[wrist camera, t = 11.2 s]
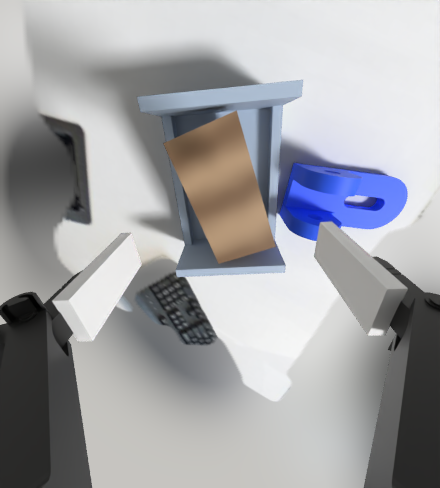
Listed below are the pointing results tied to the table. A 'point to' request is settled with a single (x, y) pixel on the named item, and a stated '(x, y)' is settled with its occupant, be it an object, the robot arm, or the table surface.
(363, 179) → the bracket
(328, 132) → the table surface
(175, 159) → the brown wooden block
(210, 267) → the frame
